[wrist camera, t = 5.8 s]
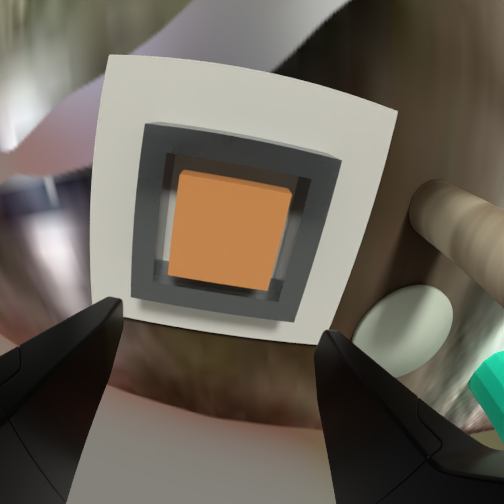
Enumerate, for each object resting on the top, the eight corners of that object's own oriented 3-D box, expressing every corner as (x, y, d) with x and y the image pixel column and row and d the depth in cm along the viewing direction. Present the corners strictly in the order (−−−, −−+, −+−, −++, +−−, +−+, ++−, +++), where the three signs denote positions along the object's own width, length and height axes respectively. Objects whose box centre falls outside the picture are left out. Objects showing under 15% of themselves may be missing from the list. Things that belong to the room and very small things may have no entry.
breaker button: (287, 188, 15) (292, 194, 14) (265, 279, 17) (267, 290, 16) (184, 169, 15) (179, 174, 14) (171, 264, 17) (167, 274, 16)
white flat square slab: (391, 111, 16) (421, 113, 13) (319, 338, 22) (330, 370, 19) (114, 56, 14) (89, 47, 11) (96, 303, 20) (79, 333, 17)
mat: (465, 291, 22) (469, 294, 21) (419, 373, 25) (421, 378, 25) (377, 276, 21) (380, 281, 20) (334, 373, 24) (336, 378, 24)
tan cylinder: (462, 188, 18) (570, 247, 9) (444, 241, 20) (536, 320, 11) (419, 171, 18) (535, 229, 9) (401, 230, 19) (496, 318, 10)
